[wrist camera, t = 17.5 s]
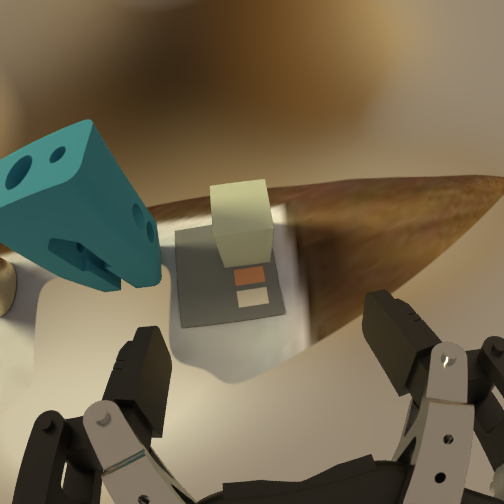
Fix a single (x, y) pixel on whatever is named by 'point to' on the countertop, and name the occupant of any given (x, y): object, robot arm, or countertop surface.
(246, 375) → the countertop surface
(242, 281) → the marker mat
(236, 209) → the sage block
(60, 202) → the block
